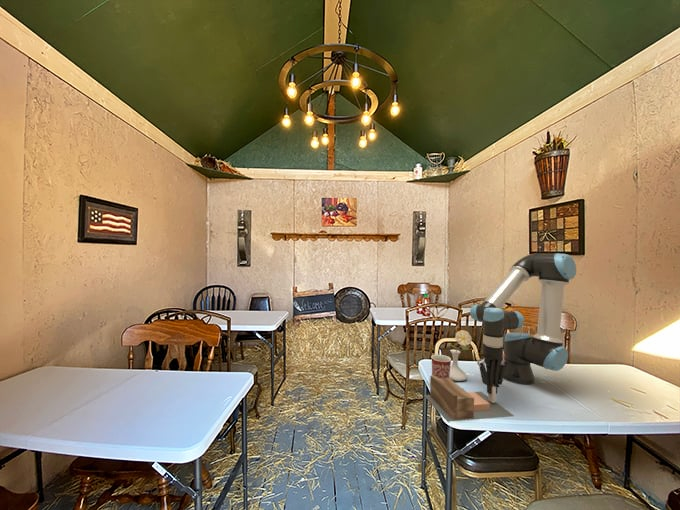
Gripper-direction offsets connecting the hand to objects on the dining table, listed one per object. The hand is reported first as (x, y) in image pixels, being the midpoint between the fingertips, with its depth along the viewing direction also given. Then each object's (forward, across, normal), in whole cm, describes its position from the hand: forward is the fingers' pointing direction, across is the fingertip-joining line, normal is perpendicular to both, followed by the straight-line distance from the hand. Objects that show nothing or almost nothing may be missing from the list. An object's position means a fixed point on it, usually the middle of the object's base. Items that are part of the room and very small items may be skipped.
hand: (491, 400), depth 122 cm
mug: (+1, +13, -20) cm, 24 cm away
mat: (+1, +12, 0) cm, 12 cm away
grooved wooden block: (+1, +19, 0) cm, 19 cm away
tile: (+1, +12, 0) cm, 12 cm away
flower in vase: (+2, +1, -25) cm, 25 cm away
